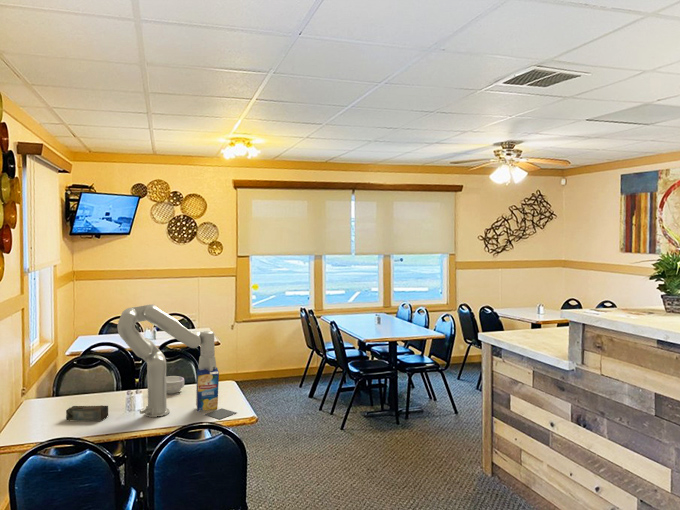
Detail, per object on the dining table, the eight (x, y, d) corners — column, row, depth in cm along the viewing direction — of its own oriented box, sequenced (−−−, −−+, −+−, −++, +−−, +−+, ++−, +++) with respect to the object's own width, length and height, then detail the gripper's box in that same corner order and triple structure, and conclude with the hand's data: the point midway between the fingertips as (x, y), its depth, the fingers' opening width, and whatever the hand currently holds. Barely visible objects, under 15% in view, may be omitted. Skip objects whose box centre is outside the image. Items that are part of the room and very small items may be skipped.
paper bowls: (189, 391, 330) (189, 378, 330) (166, 397, 319) (166, 383, 319) (175, 386, 341) (175, 374, 340) (153, 391, 329) (153, 379, 329)
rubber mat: (219, 419, 281) (219, 418, 281) (204, 414, 288) (204, 414, 288) (236, 413, 290) (236, 412, 290) (221, 409, 298) (221, 408, 298)
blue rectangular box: (217, 408, 298) (219, 373, 292) (197, 411, 294) (198, 375, 288) (215, 402, 304) (217, 367, 298) (195, 404, 300) (196, 369, 294)
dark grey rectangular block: (73, 416, 286) (73, 404, 286) (109, 416, 286) (109, 404, 285) (65, 421, 278) (65, 408, 278) (102, 421, 278) (102, 409, 277)
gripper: (193, 353, 299) (193, 386, 299) (211, 357, 290) (211, 390, 291) (204, 350, 305) (204, 382, 305) (222, 354, 296) (222, 387, 297)
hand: (208, 386), depth 298 cm, fingers closed
